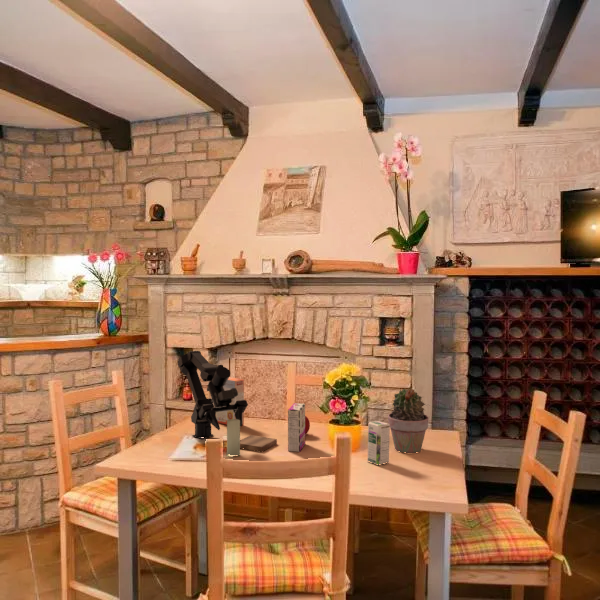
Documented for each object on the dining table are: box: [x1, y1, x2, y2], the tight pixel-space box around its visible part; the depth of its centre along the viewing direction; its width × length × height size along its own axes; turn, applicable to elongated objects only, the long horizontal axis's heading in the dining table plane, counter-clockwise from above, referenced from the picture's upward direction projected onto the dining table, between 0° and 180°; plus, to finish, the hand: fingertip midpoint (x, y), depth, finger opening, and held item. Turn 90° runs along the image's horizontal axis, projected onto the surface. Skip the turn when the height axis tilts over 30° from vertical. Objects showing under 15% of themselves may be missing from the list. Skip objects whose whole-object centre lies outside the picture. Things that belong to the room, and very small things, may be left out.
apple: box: [305, 415, 311, 436], centre depth 235 cm, size 9×9×10 cm
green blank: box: [226, 419, 241, 455], centre depth 207 cm, size 5×5×13 cm
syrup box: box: [367, 420, 391, 465], centre depth 200 cm, size 6×6×14 cm
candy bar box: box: [287, 402, 306, 453], centre depth 217 cm, size 11×5×16 cm, turn 168°
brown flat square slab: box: [240, 434, 278, 453], centre depth 219 cm, size 12×12×2 cm
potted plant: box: [387, 388, 432, 454], centre depth 216 cm, size 18×20×25 cm
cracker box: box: [215, 376, 245, 426], centre depth 252 cm, size 14×6×21 cm, turn 47°
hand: (230, 427), depth 209 cm, fingers open, 9 cm apart
